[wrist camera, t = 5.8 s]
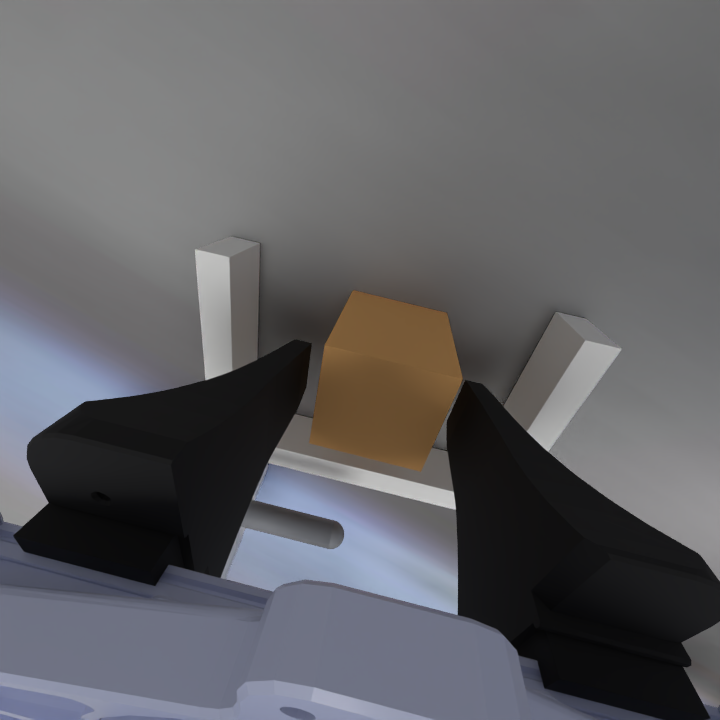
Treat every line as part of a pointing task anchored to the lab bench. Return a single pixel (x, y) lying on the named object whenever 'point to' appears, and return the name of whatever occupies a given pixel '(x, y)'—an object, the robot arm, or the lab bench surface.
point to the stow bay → (432, 485)
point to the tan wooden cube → (386, 381)
